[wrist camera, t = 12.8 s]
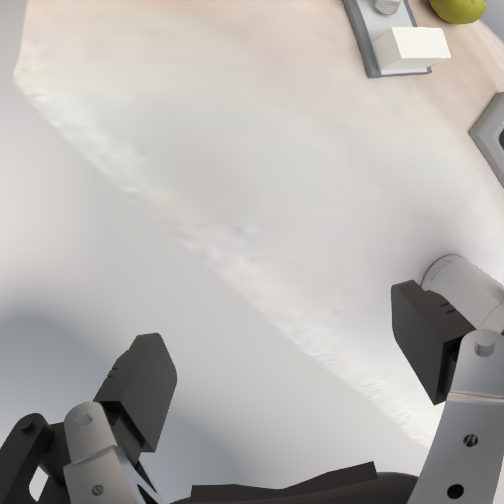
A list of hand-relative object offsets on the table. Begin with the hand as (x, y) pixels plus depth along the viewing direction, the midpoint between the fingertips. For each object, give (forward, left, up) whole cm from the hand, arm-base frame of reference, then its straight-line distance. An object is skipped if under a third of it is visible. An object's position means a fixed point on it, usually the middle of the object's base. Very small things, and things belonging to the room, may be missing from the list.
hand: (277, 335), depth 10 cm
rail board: (+8, -27, -28) cm, 40 cm away
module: (+2, -24, -26) cm, 36 cm away
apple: (+4, -38, -28) cm, 47 cm away
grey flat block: (-18, -32, -29) cm, 47 cm away
